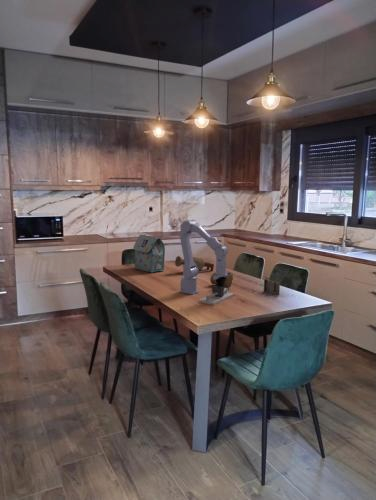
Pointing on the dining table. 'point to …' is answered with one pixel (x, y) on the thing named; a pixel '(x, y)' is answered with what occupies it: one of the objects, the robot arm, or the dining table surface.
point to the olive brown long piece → (197, 261)
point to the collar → (218, 290)
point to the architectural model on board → (271, 286)
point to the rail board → (216, 297)
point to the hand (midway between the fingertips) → (220, 289)
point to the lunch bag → (149, 253)
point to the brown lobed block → (227, 282)
